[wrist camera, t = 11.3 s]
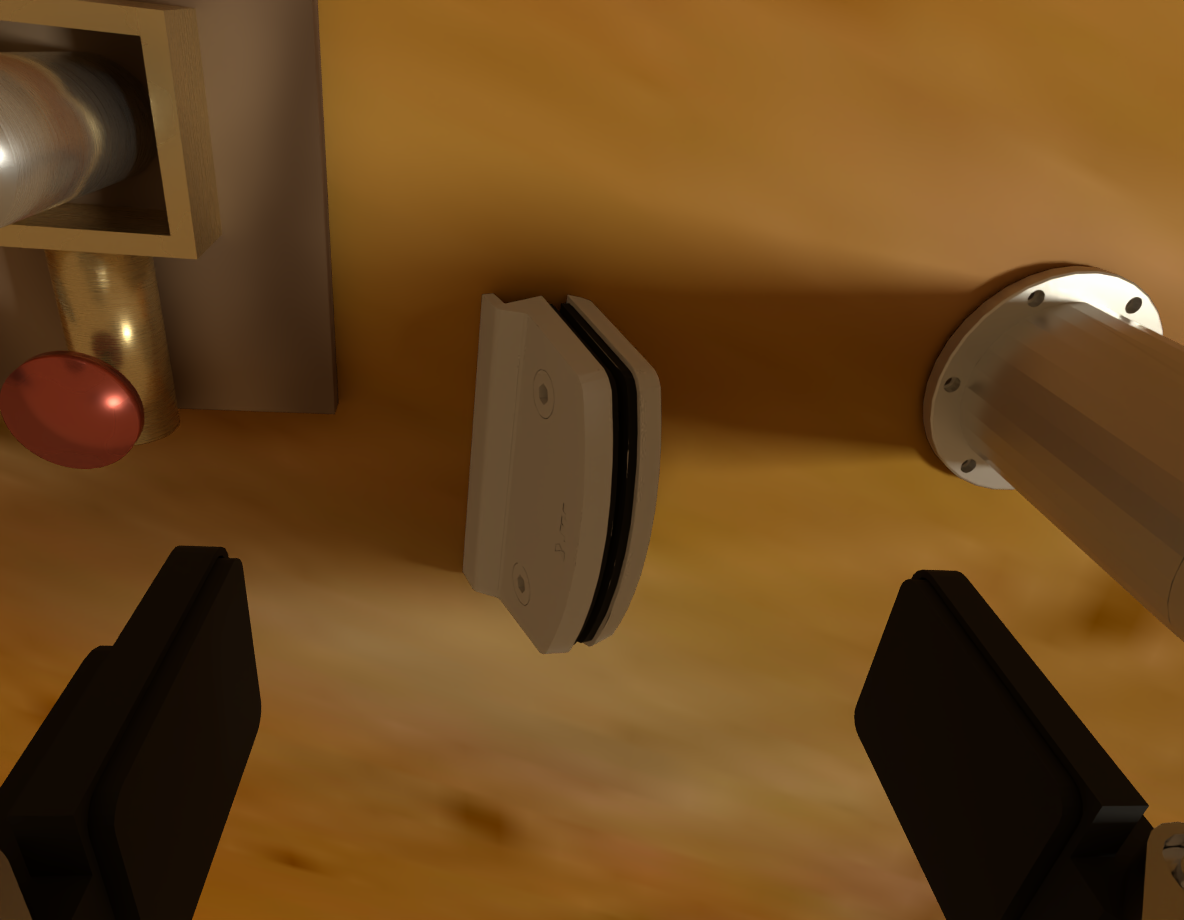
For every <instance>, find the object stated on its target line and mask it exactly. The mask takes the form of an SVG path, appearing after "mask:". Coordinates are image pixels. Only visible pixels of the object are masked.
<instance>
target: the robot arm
mask: <svg viewBox="0 0 1184 920" xmlns="http://www.w3.org/2000/svg"><path fill="white" fill-rule="evenodd" d="M923 423H924V427H925V432H926V436H927V440H928V442H929V443H930V445H931V447H932V449H933V451H934V453H935V454H936V456H937V457H938V458H939V459H940V460H941V461H942V462H943V463H944V464H945V465H946V467H947V468H949V469H950V470H951V471H952V472H953V473H954V474H955V475H956V476H958V477H959V478H961V479H963V480H965V481H967V482H969V483H972V484H974V485H976V486H981V487H985V488H990V489H1008V490H1012V489H1016V490H1017V491H1018V492H1019V493H1020V494H1021V495H1022V496H1023V497H1025V498H1026V499H1027V500H1028V501H1029V502H1030V503H1031V504H1032V505H1033V506H1034V507H1035V508H1037V509H1038V510H1039V511H1040V512H1041V513H1042V514H1043V515H1044V516H1045V517H1046V518H1048V519H1049V520H1050V521H1051V522H1052V523H1053V524H1054V525H1055V526H1056V527H1057V528H1058V529H1060V530H1061V531H1062V532H1063V533H1064V534H1065V535H1066V536H1067V537H1068V538H1069V539H1071V540H1072V541H1073V542H1074V543H1075V544H1076V545H1077V546H1078V547H1079V548H1080V549H1082V550H1083V551H1084V552H1085V553H1086V554H1087V555H1088V556H1089V557H1090V558H1091V559H1092V560H1094V561H1095V562H1096V563H1097V564H1098V565H1099V566H1100V567H1101V568H1102V569H1103V570H1105V571H1106V572H1107V573H1108V574H1109V575H1110V576H1111V577H1112V578H1113V579H1114V580H1115V581H1117V582H1118V583H1119V584H1120V585H1121V586H1122V587H1123V588H1124V589H1125V590H1126V591H1128V592H1129V593H1130V594H1131V595H1132V596H1133V597H1134V598H1135V599H1136V600H1137V601H1139V602H1140V603H1141V604H1142V605H1143V606H1144V607H1145V608H1146V609H1147V610H1148V611H1149V612H1151V613H1152V614H1153V615H1154V616H1155V617H1156V618H1157V619H1158V620H1159V621H1160V622H1162V623H1163V624H1164V625H1165V626H1166V627H1167V628H1168V629H1170V630H1171V631H1172V632H1173V633H1174V634H1175V635H1176V636H1178V637H1179V638H1180V639H1181V640H1182V641H1183V642H1184V346H1183V345H1181V344H1179V343H1177V342H1175V341H1173V340H1171V339H1169V338H1167V337H1165V336H1163V327H1162V324H1161V320H1160V317H1159V313H1158V310H1157V308H1156V307H1155V305H1154V304H1153V302H1152V300H1151V299H1150V297H1149V295H1148V294H1146V293H1145V292H1144V291H1143V290H1142V289H1141V288H1140V287H1139V286H1138V285H1136V284H1135V283H1134V282H1132V281H1130V280H1128V279H1125V278H1123V277H1121V276H1119V275H1117V274H1115V273H1112V272H1109V271H1106V270H1103V269H1100V268H1097V267H1085V266H1069V267H1061V268H1053V269H1050V270H1046V271H1043V272H1040V273H1037V274H1034V275H1030V276H1028V277H1026V278H1024V279H1022V280H1020V281H1018V282H1016V283H1014V284H1012V285H1010V286H1008V287H1006V288H1004V289H1003V290H1001V291H1000V292H998V293H997V294H995V295H994V296H993V297H991V298H990V299H988V300H987V301H985V302H984V303H983V304H982V305H981V306H980V307H978V308H977V309H976V310H975V311H974V312H973V313H972V314H971V315H970V316H969V317H968V318H967V319H965V320H964V322H963V323H962V324H961V325H960V327H959V328H958V329H957V330H956V331H955V333H954V334H953V335H952V336H951V338H950V339H949V340H948V342H947V343H946V345H945V347H944V348H943V350H942V352H941V353H940V355H939V357H938V358H937V360H936V362H935V365H934V367H933V370H932V372H931V375H930V377H929V380H928V382H927V387H926V392H925V397H924V401H923ZM260 717H261V698H260V691H259V684H258V676H257V669H256V661H255V654H254V647H253V639H252V632H251V624H250V617H249V610H248V602H247V595H246V587H245V580H244V572H243V566H242V562H241V560H240V559H238V558H229V557H228V553H227V551H226V549H225V548H223V547H206V546H177V547H175V548H174V550H173V551H172V552H171V554H170V555H169V557H168V558H167V560H166V562H165V563H164V565H163V566H162V568H161V570H160V571H159V573H158V574H157V576H156V578H155V579H154V581H153V582H152V584H151V586H150V587H149V589H148V590H147V592H146V594H145V595H144V597H143V599H142V600H141V602H140V603H139V605H138V607H137V608H136V610H135V611H134V613H133V615H132V616H131V618H130V619H129V621H128V623H127V624H126V626H125V627H124V629H123V631H122V632H121V634H120V635H119V637H118V639H117V640H116V642H115V643H114V645H113V646H99V647H97V648H95V649H93V650H92V651H91V652H90V653H89V654H88V656H87V657H86V658H85V659H84V661H83V662H82V664H81V665H80V667H79V668H78V670H77V671H76V673H75V674H74V676H73V677H72V679H71V680H70V682H69V684H68V685H67V687H66V688H65V690H64V691H63V693H62V694H61V696H60V697H59V699H58V700H57V702H56V703H55V705H54V706H53V708H52V709H51V711H50V713H49V714H48V716H47V717H46V719H45V720H44V722H43V723H42V725H41V726H40V728H39V729H38V731H37V732H36V734H35V735H34V737H33V739H32V740H31V742H30V743H29V745H28V746H27V748H26V749H25V751H24V752H23V754H22V755H21V757H20V758H19V760H18V761H17V763H16V765H15V766H14V768H13V769H12V771H11V772H10V774H9V775H8V777H7V778H6V780H5V781H4V783H3V784H2V786H1V787H0V920H192V918H193V915H194V912H195V909H196V906H197V903H198V900H199V898H200V895H201V892H202V889H203V886H204V883H205V880H206V878H207V875H208V872H209V869H210V866H211V863H212V860H213V858H214V855H215V852H216V849H217V846H218V843H219V840H220V838H221V835H222V832H223V829H224V826H225V823H226V820H227V818H228V815H229V812H230V809H231V806H232V803H233V800H234V797H235V795H236V792H237V789H238V786H239V783H240V780H241V777H242V775H243V772H244V769H245V766H246V763H247V760H248V757H249V755H250V752H251V749H252V746H253V743H254V740H255V737H256V735H257V731H258V728H259V723H260ZM854 719H855V727H856V731H857V733H858V736H859V738H860V740H861V742H862V744H863V746H864V748H865V750H866V753H867V755H868V757H869V759H870V761H871V763H872V765H873V767H874V769H875V771H876V773H877V776H878V778H879V780H880V782H881V784H882V786H883V788H884V790H885V792H886V794H887V796H888V799H889V801H890V803H891V805H892V807H893V809H894V811H895V813H896V815H897V817H898V820H899V822H900V824H901V826H902V828H903V830H904V832H905V834H906V836H907V838H908V840H909V843H910V845H911V847H912V849H913V851H914V853H915V855H916V857H917V859H918V861H919V863H920V866H921V868H922V870H923V872H924V874H925V876H926V878H927V880H928V882H929V884H930V887H931V889H932V891H933V893H934V895H935V897H936V899H937V901H938V903H939V905H940V907H941V910H942V912H943V914H944V916H945V918H946V920H1184V823H1181V822H1172V823H1162V824H1161V825H1159V826H1158V827H1156V828H1153V827H1152V826H1151V824H1150V823H1149V822H1148V820H1147V819H1146V818H1145V817H1144V815H1143V814H1144V812H1145V811H1146V809H1147V808H1148V806H1149V805H1148V804H1147V803H1146V801H1145V800H1144V799H1143V798H1142V796H1141V795H1140V794H1139V793H1138V791H1137V790H1136V789H1135V788H1134V786H1133V785H1132V784H1131V783H1130V781H1129V780H1128V779H1127V778H1126V776H1125V775H1124V774H1123V773H1122V771H1121V770H1120V769H1119V768H1118V766H1117V765H1116V764H1115V763H1114V761H1113V760H1112V759H1111V758H1110V756H1109V755H1108V754H1107V753H1106V751H1105V750H1104V749H1103V748H1102V746H1101V745H1100V744H1099V743H1098V741H1097V740H1096V739H1095V738H1094V736H1093V735H1092V734H1091V733H1090V731H1089V730H1088V729H1087V728H1086V726H1085V725H1084V724H1083V723H1082V721H1081V720H1080V719H1079V718H1078V716H1077V715H1076V714H1075V713H1074V711H1073V710H1072V709H1071V708H1070V706H1069V705H1068V704H1067V703H1066V701H1065V700H1064V699H1063V698H1062V696H1061V695H1060V694H1059V693H1058V691H1057V690H1056V689H1055V688H1054V686H1053V685H1052V684H1051V683H1050V681H1049V680H1048V679H1047V678H1046V676H1045V675H1044V674H1043V673H1042V671H1041V670H1040V669H1039V668H1038V666H1037V665H1036V664H1035V663H1034V661H1033V660H1032V659H1031V658H1030V656H1029V655H1028V654H1027V653H1026V651H1025V650H1024V649H1023V648H1022V646H1021V645H1020V644H1019V643H1018V641H1017V640H1016V639H1015V638H1014V636H1013V635H1012V634H1011V633H1010V631H1009V630H1008V629H1007V628H1006V626H1005V625H1004V624H1003V623H1002V621H1001V620H1000V619H999V618H998V616H997V615H996V614H995V613H994V611H993V610H992V609H991V608H990V606H989V605H988V604H987V603H986V601H985V600H984V599H983V598H982V596H981V595H980V594H979V593H978V591H977V590H976V589H975V588H974V586H973V585H972V584H971V583H970V581H969V580H968V579H967V578H966V577H965V576H964V575H963V574H962V573H961V572H958V571H945V570H920V571H917V572H916V573H915V574H914V575H913V577H912V579H908V580H905V581H904V582H903V583H902V585H901V587H900V590H899V592H898V595H897V598H896V600H895V603H894V606H893V608H892V611H891V614H890V616H889V619H888V622H887V624H886V627H885V630H884V633H883V635H882V638H881V641H880V643H879V646H878V649H877V651H876V654H875V657H874V659H873V662H872V665H871V667H870V670H869V673H868V675H867V678H866V681H865V683H864V686H863V689H862V691H861V694H860V697H859V700H858V702H857V705H856V708H855V715H854Z"/></svg>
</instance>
